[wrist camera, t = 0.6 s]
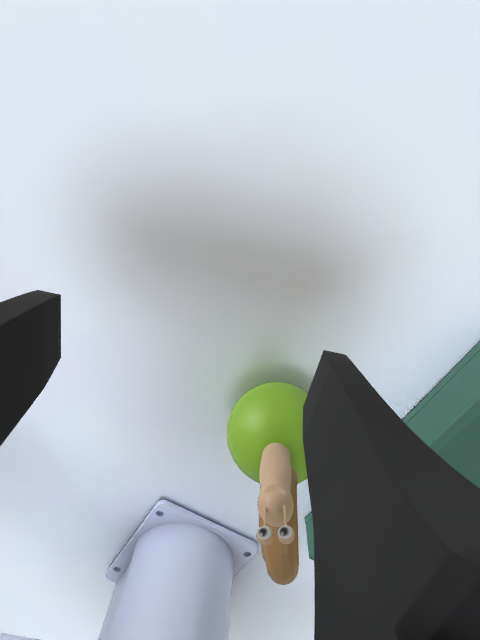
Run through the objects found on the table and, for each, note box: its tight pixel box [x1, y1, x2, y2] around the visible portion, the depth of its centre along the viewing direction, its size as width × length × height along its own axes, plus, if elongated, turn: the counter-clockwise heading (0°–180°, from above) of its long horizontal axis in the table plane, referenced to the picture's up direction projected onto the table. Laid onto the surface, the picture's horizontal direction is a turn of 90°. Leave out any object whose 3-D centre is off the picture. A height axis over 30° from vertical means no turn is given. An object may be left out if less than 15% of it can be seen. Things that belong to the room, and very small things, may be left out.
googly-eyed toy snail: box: [227, 382, 308, 585], centre depth 20 cm, size 5×6×12 cm
